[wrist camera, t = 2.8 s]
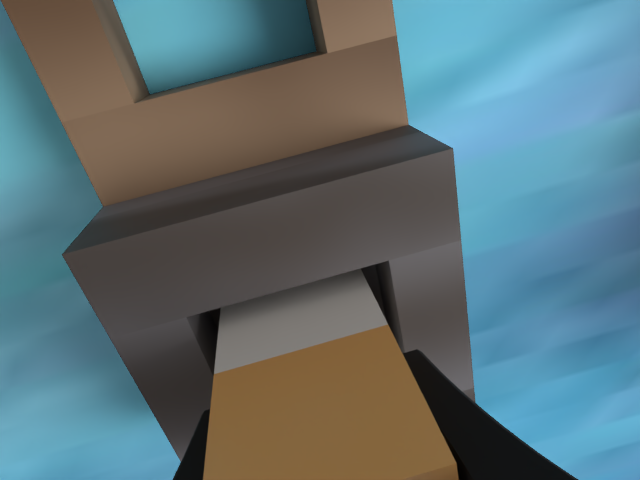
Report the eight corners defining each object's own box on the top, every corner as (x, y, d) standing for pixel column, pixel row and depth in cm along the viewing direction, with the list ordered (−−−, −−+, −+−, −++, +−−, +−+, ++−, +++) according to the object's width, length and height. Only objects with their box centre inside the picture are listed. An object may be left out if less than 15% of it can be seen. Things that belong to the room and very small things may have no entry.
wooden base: (422, 343, 19) (478, 439, 14) (222, 401, 18) (213, 518, 14) (321, -325, 10) (384, -636, 5) (-73, -236, 9) (-366, -487, 5)
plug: (379, 365, 14) (473, 596, 8) (261, 399, 14) (270, 660, 8) (357, 262, 12) (456, 463, 6) (221, 300, 12) (196, 540, 6)
